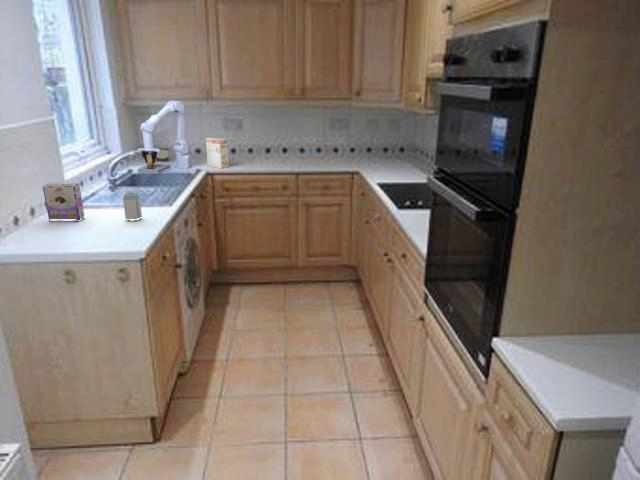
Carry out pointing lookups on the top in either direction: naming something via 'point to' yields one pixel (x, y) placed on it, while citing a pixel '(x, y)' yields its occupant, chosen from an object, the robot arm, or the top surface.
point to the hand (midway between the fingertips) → (150, 163)
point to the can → (132, 206)
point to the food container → (162, 154)
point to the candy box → (63, 201)
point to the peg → (149, 161)
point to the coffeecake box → (217, 152)
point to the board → (157, 169)
